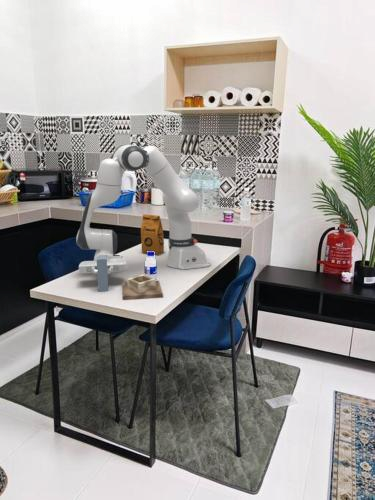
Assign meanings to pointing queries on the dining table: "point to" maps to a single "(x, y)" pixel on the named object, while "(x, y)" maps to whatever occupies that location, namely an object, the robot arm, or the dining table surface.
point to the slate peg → (102, 274)
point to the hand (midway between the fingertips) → (102, 272)
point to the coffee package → (152, 234)
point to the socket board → (141, 295)
